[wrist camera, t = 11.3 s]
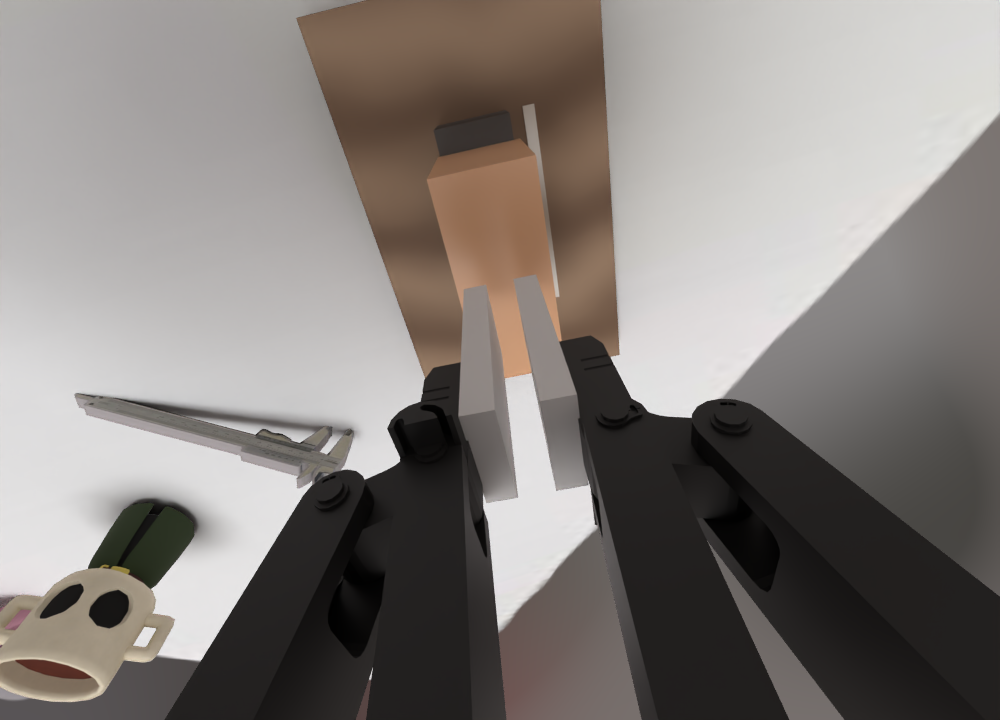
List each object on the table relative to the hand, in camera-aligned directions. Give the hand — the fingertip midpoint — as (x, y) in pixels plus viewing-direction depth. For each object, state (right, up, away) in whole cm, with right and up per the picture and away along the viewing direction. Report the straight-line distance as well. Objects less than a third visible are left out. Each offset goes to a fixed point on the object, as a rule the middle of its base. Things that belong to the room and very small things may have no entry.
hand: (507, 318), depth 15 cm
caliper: (-22, -6, +20) cm, 31 cm away
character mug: (-32, -16, +26) cm, 44 cm away
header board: (-1, +8, +12) cm, 14 cm away
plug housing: (0, +5, +8) cm, 9 cm away
